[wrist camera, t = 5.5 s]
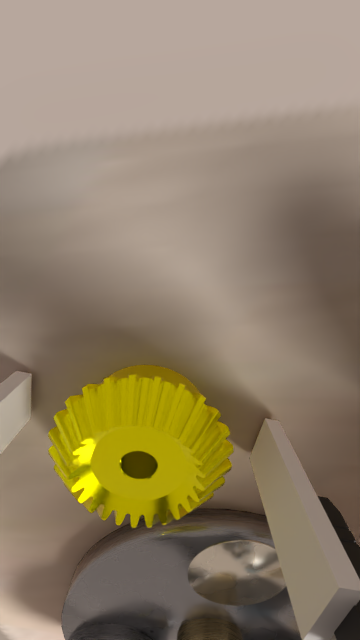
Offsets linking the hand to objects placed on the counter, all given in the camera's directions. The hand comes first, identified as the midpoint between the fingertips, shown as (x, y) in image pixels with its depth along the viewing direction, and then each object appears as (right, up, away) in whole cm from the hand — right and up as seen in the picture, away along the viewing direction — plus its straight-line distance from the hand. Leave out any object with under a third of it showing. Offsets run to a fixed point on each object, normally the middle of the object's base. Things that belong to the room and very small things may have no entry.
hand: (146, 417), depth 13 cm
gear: (0, 0, +1) cm, 1 cm away
